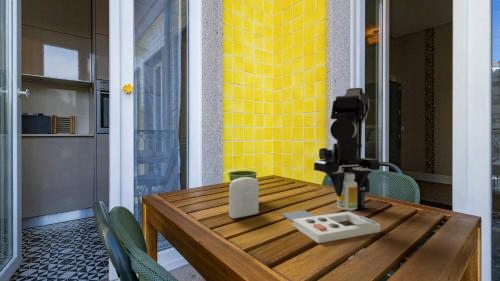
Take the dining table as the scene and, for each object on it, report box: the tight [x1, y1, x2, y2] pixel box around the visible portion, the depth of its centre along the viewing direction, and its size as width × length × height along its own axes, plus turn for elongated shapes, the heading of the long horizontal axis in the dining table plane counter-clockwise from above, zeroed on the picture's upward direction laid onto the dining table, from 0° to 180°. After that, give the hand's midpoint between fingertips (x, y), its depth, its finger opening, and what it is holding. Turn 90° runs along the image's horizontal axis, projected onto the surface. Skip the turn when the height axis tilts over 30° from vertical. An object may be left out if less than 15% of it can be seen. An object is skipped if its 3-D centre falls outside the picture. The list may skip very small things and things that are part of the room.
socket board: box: [292, 211, 381, 244], centre depth 70 cm, size 20×12×3 cm, turn 110°
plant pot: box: [227, 170, 258, 182], centre depth 98 cm, size 12×12×11 cm
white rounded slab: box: [228, 177, 260, 219], centre depth 81 cm, size 10×4×12 cm, turn 123°
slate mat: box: [280, 210, 315, 223], centre depth 79 cm, size 9×9×1 cm
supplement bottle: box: [336, 173, 357, 211], centre depth 71 cm, size 5×5×10 cm
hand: (346, 195), depth 71 cm, fingers closed on supplement bottle, 5 cm apart
